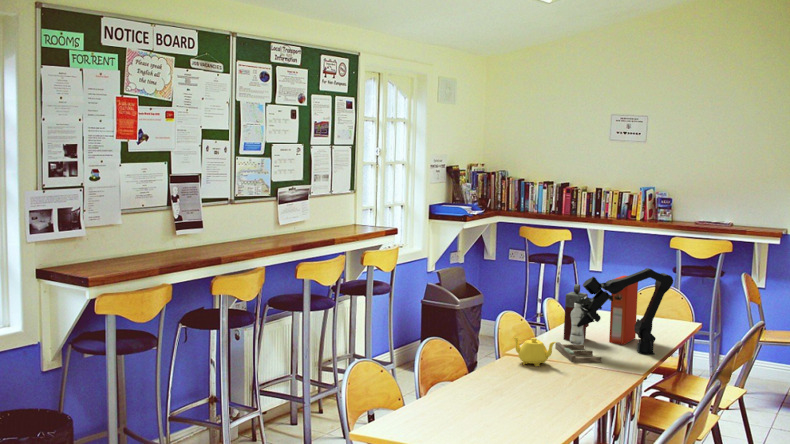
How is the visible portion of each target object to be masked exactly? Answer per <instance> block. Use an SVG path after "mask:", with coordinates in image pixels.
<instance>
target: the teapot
mask: <svg viewBox="0 0 790 444" xmlns="http://www.w3.org/2000/svg"><path fill="white" fill-rule="evenodd" d="M512 338H514V340H515V342H514V343H515V344H514V345H515V348H514V349H515V351H516V353H517V354H518V355H517V356H518V358H519V360H520V362H522V365H523V364H527V365H528V364H533V365H534V367H536V366H539V367H540V366H541V364H540V363H543V364H544V363H545V362H547V360H548V358H550V356H552V353H553V346H554V344H556V342H557V341H553V342H550V343H549V344H548V345H549V346H548V349H547V347H546V346H545V344H544V342H543V341H541V340H540V339H538V338H536V337H530V339H526V340H525V341H524V342H523V343H522V344H521V345H520V342H519V341H520V340H519V339H518V337H517V336H515V335H512Z"/></svg>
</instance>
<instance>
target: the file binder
mask: <svg viewBox="0 0 790 444" xmlns="http://www.w3.org/2000/svg"><path fill="white" fill-rule="evenodd" d="M627 276H628V275H621V276H618V277H616V278H612V279H611V280H613V279H620V278H624V277H627ZM638 291H639V282H637V283H634V284H632V285H629V286H627V287H625V288H624V289H623V290H622V291H620V292H618V293H617V294H612V293H610V295H612V296H613V301H610V317H609V340H608V343H611V344H616V345H617V344H618V345H623V346H624V345H626V344H627V343H630V342H631V341H633V340H635V339H636V335H637V334H636V333H635V331H634V329H635V327H634V325H635V324H636V321H637V317H638V316H637V314H638V313H637V312H638V311H637V310H638V294H639V292H638Z"/></svg>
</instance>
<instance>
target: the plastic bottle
mask: <svg viewBox="0 0 790 444" xmlns="http://www.w3.org/2000/svg"><path fill="white" fill-rule="evenodd" d="M574 307H575V308H574V309H573V310H572V311H571V325H572V328H571V335H570V340H569V343H570V344H574V345H582V344H583V345H584V343H585V339H584V334H583V326H580V327H578V326H577V324H578V323H579V322H580V320H581V319H582V318H583V316H584V311H583V309H582V307H583V306H582V304H581V303H579V302H575V303H574Z"/></svg>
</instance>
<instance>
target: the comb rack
mask: <svg viewBox="0 0 790 444" xmlns="http://www.w3.org/2000/svg"><path fill="white" fill-rule="evenodd" d="M555 342H556V343H554V344H555V350H557V351H558V353H560V354H561V355H562V356H564V358H566V359H568V361H569V362H570V363H602V357H601V356H593V353H594V352H593V350H585V344H584V343H583V344H582V345H574V344H571V343H570V344H567V343H565V344H563V343H561V342H558V341H555Z"/></svg>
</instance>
